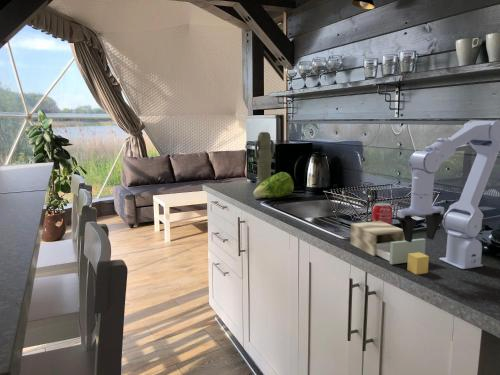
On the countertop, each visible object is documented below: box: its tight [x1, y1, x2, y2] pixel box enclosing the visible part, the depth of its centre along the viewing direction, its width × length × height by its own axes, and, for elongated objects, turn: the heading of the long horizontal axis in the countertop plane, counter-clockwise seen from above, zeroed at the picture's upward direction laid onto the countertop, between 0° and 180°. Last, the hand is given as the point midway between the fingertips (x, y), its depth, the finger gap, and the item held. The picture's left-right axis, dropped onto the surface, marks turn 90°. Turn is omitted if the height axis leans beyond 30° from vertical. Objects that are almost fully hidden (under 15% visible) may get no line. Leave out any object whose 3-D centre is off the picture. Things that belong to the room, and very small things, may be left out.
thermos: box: [254, 131, 275, 188], centre depth 254 cm, size 9×12×35 cm
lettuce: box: [252, 171, 295, 199], centre depth 238 cm, size 14×23×13 cm, turn 117°
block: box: [406, 252, 430, 275], centre depth 126 cm, size 4×4×5 cm
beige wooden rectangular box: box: [349, 220, 405, 257], centre depth 147 cm, size 14×12×7 cm
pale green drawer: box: [376, 237, 427, 265], centre depth 139 cm, size 14×12×7 cm
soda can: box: [371, 202, 393, 225], centre depth 163 cm, size 7×7×12 cm
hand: (419, 239), depth 124 cm, fingers open, 7 cm apart
